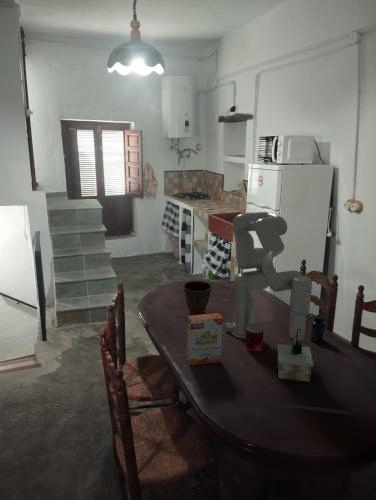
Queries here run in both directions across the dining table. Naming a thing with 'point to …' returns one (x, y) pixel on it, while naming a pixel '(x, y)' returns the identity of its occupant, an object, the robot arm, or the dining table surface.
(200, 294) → the plant pot
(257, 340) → the canned food
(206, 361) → the cracker box
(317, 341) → the supplement bottle
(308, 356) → the lid
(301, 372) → the pine box
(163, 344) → the dining table surface
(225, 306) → the dining table surface
